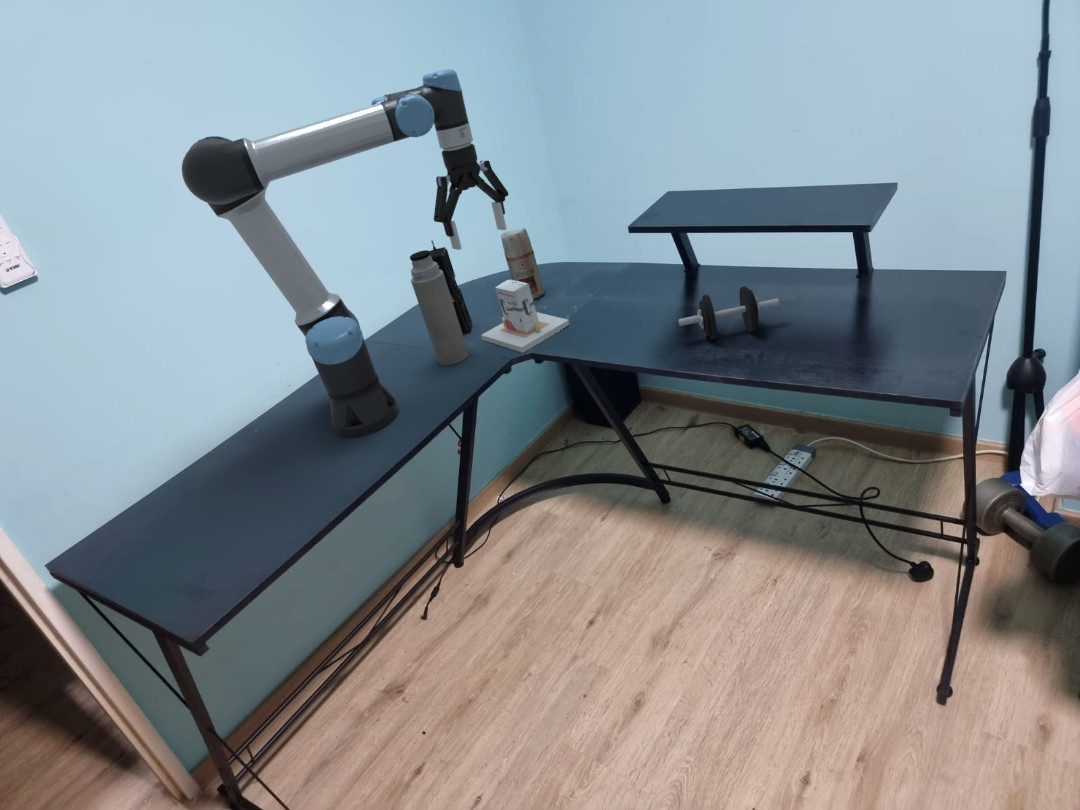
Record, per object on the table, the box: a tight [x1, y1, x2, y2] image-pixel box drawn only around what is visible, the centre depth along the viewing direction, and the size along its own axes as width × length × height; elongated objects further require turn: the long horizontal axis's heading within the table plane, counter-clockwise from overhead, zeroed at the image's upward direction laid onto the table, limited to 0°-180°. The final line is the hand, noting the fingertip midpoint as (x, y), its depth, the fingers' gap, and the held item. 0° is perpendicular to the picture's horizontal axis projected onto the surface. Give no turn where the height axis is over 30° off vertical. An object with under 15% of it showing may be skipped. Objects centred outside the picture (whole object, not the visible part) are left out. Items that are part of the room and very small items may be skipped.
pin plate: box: [481, 311, 570, 354], centre depth 182 cm, size 16×17×4 cm
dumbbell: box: [677, 285, 780, 340], centre depth 155 cm, size 22×10×10 cm, turn 89°
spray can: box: [500, 227, 545, 300], centre depth 200 cm, size 8×8×20 cm
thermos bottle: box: [409, 249, 469, 366], centre depth 174 cm, size 8×8×28 cm
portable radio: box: [429, 240, 473, 335], centre depth 188 cm, size 8×6×25 cm
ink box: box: [494, 279, 540, 333], centre depth 179 cm, size 9×5×12 cm, turn 41°
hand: (480, 239), depth 167 cm, fingers open, 13 cm apart
